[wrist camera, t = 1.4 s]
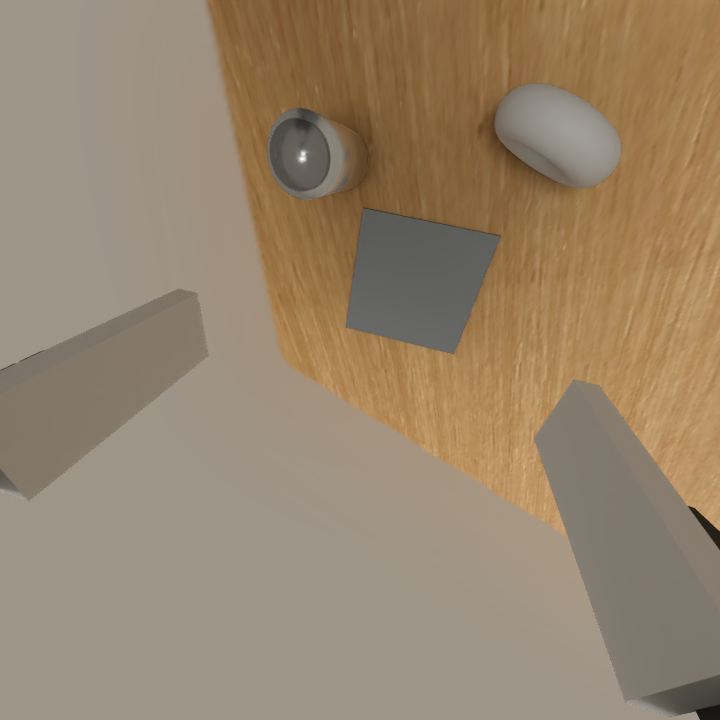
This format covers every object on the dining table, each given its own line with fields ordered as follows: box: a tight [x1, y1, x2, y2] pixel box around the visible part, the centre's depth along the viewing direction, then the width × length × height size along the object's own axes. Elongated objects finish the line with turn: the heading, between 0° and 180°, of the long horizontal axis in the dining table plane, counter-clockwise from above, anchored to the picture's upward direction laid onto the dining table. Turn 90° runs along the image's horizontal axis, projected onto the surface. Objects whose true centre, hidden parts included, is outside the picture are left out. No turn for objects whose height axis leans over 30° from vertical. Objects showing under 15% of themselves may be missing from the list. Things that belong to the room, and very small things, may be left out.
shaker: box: [267, 108, 368, 199], centre depth 27 cm, size 6×6×12 cm
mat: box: [346, 208, 501, 354], centre depth 37 cm, size 15×15×1 cm
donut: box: [495, 83, 622, 188], centre depth 23 cm, size 10×4×10 cm, turn 61°
